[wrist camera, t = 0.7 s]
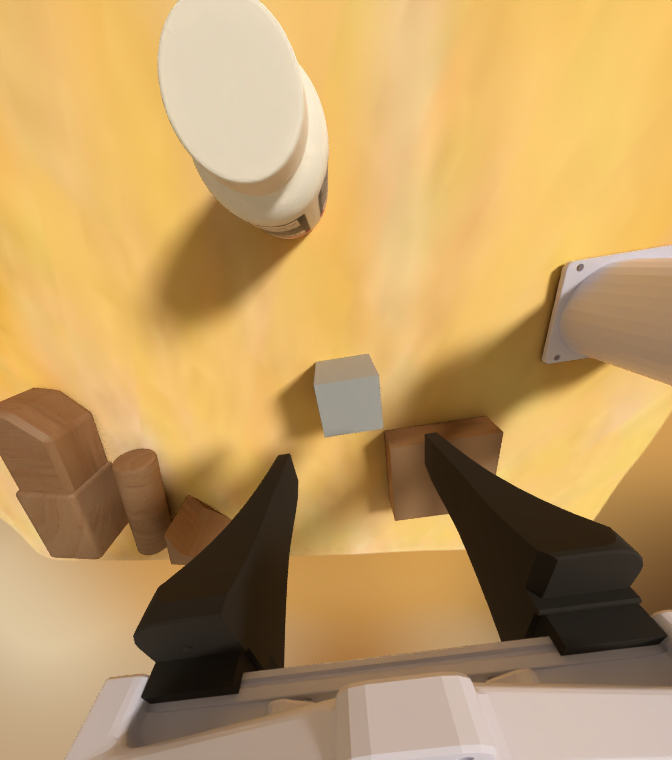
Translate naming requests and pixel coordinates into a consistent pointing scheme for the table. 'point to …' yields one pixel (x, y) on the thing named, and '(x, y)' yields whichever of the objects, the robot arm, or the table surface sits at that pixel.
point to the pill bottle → (246, 113)
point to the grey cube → (348, 395)
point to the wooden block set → (92, 485)
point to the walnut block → (407, 462)
